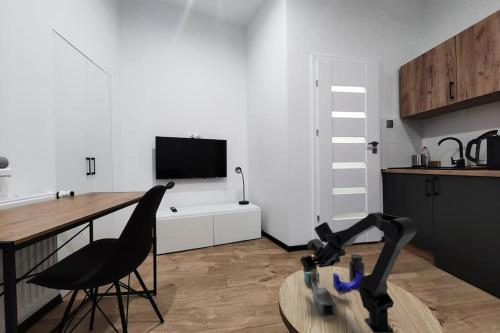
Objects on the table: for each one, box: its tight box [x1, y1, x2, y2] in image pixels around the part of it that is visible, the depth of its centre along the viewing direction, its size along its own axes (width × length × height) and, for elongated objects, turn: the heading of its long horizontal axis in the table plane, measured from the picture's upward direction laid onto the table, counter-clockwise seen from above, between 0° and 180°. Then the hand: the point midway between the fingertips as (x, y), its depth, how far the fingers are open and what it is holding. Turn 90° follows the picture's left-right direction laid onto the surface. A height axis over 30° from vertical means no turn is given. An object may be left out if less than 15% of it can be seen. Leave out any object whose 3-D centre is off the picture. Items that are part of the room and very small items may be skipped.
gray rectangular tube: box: [312, 287, 337, 317], centre depth 94 cm, size 12×5×4 cm, turn 178°
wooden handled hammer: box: [309, 254, 322, 289], centre depth 106 cm, size 18×3×13 cm, turn 179°
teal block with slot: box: [303, 269, 320, 285], centre depth 115 cm, size 5×6×5 cm
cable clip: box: [332, 272, 363, 292], centre depth 108 cm, size 12×4×6 cm, turn 91°
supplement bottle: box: [348, 253, 366, 282], centre depth 114 cm, size 7×7×12 cm
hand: (311, 268), depth 111 cm, fingers open, 9 cm apart
